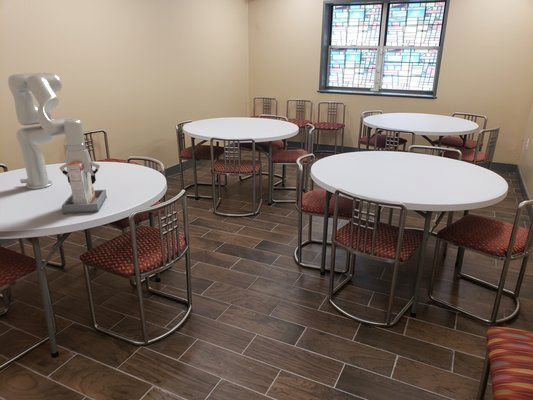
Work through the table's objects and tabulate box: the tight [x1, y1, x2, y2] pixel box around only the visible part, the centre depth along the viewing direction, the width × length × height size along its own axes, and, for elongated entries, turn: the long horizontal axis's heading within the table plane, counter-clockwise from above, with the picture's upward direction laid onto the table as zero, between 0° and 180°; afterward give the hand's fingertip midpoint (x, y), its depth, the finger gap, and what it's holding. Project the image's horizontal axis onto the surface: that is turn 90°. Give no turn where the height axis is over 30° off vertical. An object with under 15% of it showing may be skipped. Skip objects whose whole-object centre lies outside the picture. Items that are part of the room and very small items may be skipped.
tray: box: [61, 189, 108, 215], centre depth 193 cm, size 15×20×4 cm
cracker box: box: [66, 162, 95, 204], centre depth 189 cm, size 14×6×21 cm, turn 7°
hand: (82, 183), depth 189 cm, fingers open, 9 cm apart
